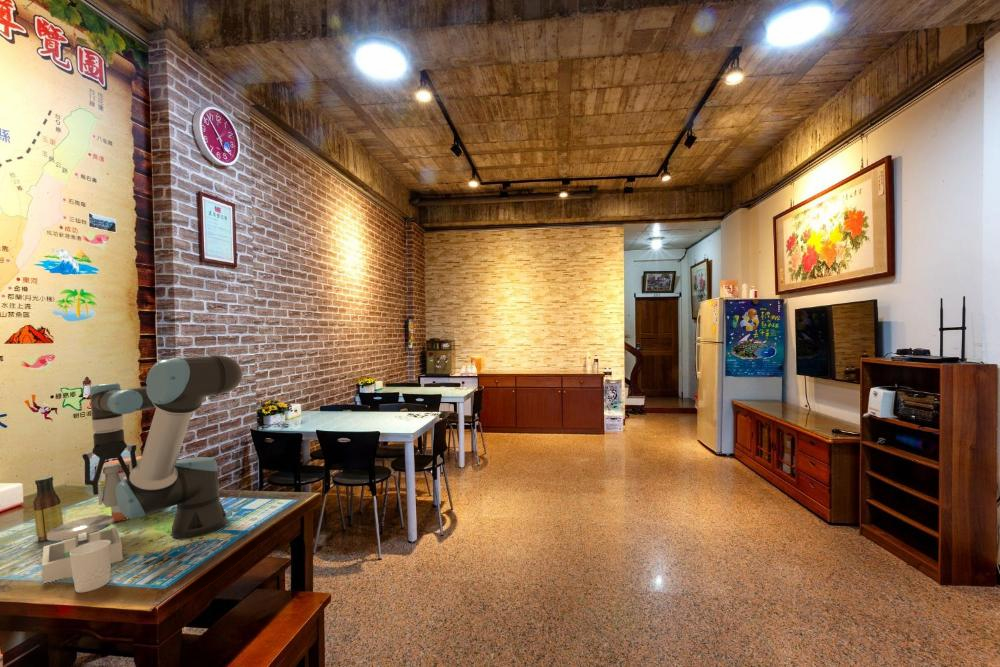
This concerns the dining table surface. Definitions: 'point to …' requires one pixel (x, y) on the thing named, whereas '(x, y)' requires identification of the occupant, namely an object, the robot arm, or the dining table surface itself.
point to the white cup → (91, 565)
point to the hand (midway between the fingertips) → (113, 500)
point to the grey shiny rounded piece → (80, 529)
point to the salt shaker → (110, 485)
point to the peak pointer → (82, 541)
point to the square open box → (58, 554)
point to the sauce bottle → (46, 508)
